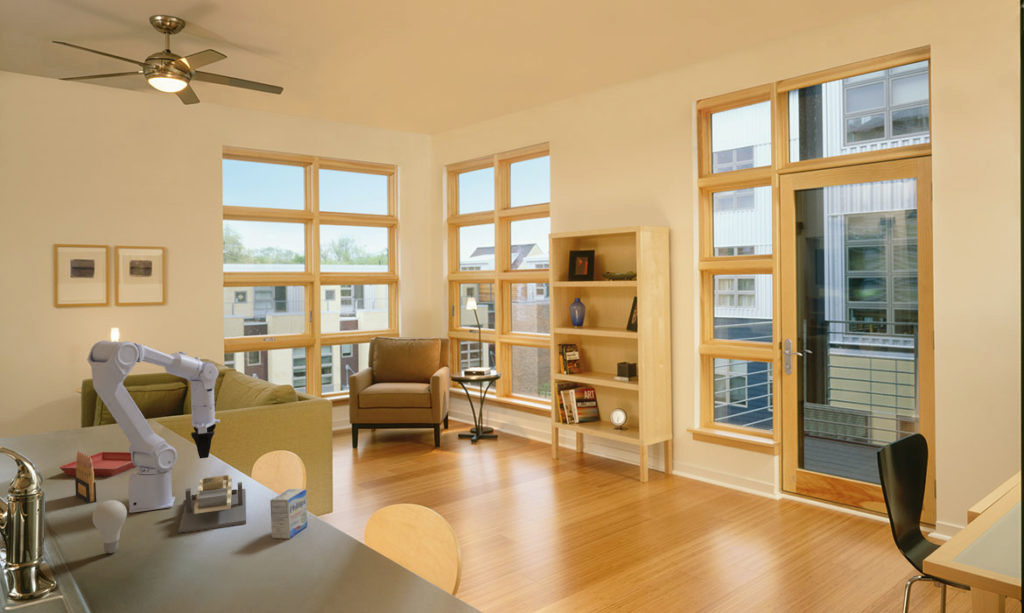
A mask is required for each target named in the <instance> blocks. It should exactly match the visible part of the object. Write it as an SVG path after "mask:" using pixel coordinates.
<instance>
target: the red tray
mask: <svg viewBox="0 0 1024 613" xmlns="http://www.w3.org/2000/svg"><path fill="white" fill-rule="evenodd" d="M90 457H91V459H92V464H93V471H94V477H114V476H117V475H119V474H121V473H125V472H127V471H129V470H131V468H132V469H134V468H137V467H136V466H135V465H134V464H133V463H132V460H131V453H130V451H128V452H124V451H117V452H116V451H102V452H98V453H95V454H92V455H90ZM76 462H77V460H75V461H72V462H69V463H66V464H63V465H61V466H59V469H60V470H61V471H62V472H64V473H66V474H67V475H68V476H74V477H76Z"/></svg>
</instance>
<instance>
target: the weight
mask: <svg viewBox="0 0 1024 613" xmlns="http://www.w3.org/2000/svg"><path fill="white" fill-rule="evenodd" d="M221 476H222V477H215V476H213V477H214V478H207V477H205V478H206V479H202V480H203V484H202V485H203V491H204V490H212V489H220V488H224V486H223V476H224V475H221Z"/></svg>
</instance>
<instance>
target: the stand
mask: <svg viewBox="0 0 1024 613" xmlns="http://www.w3.org/2000/svg"><path fill="white" fill-rule="evenodd" d="M191 489H192V488H185V504H184V508H183V513H182V515H181V520H180V523H179V527H178V534H182V533H181V532H186V533H190V532H189V531H193V532H197V531H196V530H200V531H205V530H204V529H207V530H213V529H219V528H218V527H220V528H226V527H225V526H227V527H233V526H232V525H234V526H240V525H246V524H247V502H246V500H247V499H246V496H247V495H246V492H247V491H246V488H243V482H242V481H239V482H237V494H235V495H232V493H231V509H225V510H218V511H210V512H203V513H196V514H194V506H195V501H196V500H192V494H191V492H192V491H191ZM212 528H213V529H212Z"/></svg>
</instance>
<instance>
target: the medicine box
mask: <svg viewBox="0 0 1024 613" xmlns="http://www.w3.org/2000/svg"><path fill="white" fill-rule="evenodd" d="M307 498H308V497H307V490H306V489H305V488H288V489H287V490H285V491H284V492H282V493H280V494H279V495H277V496H276V497H274V498H272V499H270V501H269V502H270V504H269V505H270V525H271V526H270V527H271V528H270V529H271V530H270V531H271V538H273V539H283V540H284V539H285V540H287V539H288V540H290V539H293V537H294V536H296V535H297V534H299V533H300V532H301V531H302V530H304V529H306V527H308V501H307Z"/></svg>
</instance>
